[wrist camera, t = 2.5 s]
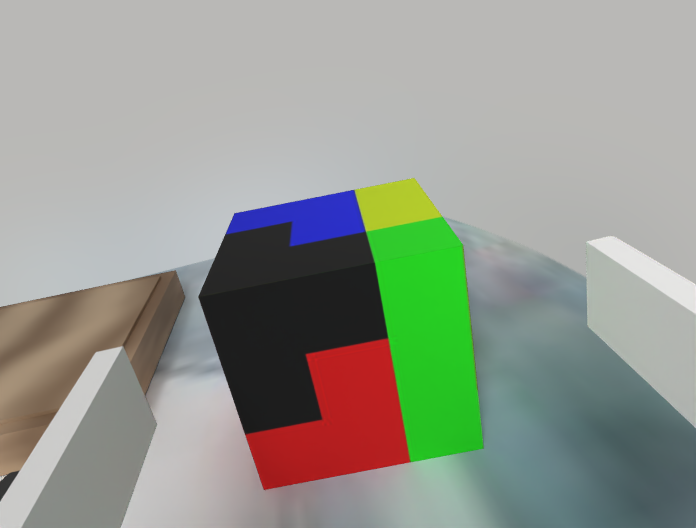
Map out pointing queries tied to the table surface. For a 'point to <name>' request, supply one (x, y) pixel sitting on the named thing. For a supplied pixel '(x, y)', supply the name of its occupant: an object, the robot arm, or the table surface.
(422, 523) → the table surface
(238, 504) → the table surface
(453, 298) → the puzzle toy
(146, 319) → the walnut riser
